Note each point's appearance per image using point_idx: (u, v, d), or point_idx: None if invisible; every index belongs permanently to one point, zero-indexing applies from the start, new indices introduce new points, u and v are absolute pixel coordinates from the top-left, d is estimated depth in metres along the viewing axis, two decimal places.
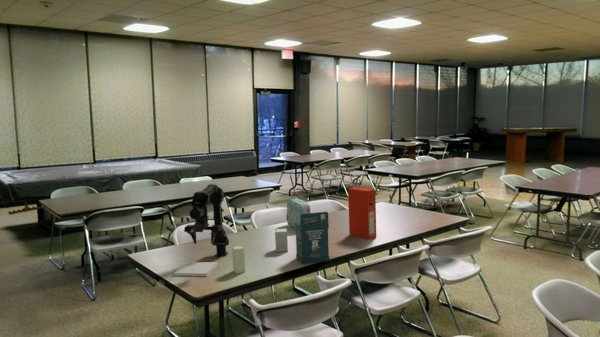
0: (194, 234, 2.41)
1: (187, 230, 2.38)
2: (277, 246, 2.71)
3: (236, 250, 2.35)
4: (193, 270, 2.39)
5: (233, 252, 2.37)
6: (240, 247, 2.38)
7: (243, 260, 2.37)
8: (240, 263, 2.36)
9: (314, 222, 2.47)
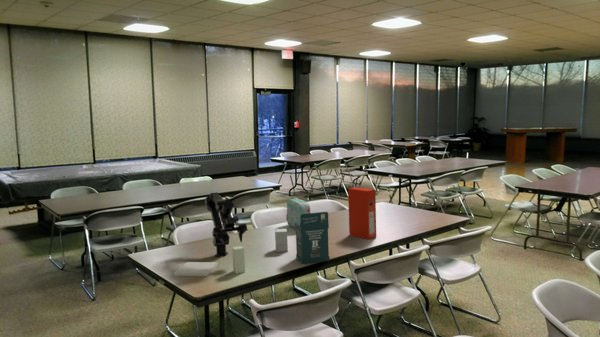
0: None
1: (217, 229, 2.44)
2: (277, 246, 2.71)
3: (236, 250, 2.35)
4: (193, 270, 2.39)
5: (233, 252, 2.37)
6: (240, 247, 2.38)
7: (243, 260, 2.37)
8: (240, 263, 2.36)
9: (314, 222, 2.47)
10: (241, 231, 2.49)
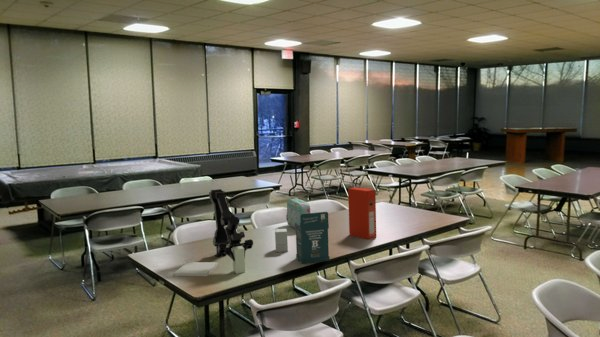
0: None
1: (223, 245, 2.36)
2: (277, 246, 2.71)
3: (236, 250, 2.35)
4: (193, 270, 2.39)
5: (233, 252, 2.37)
6: (240, 247, 2.38)
7: (243, 260, 2.37)
8: (240, 263, 2.36)
9: (314, 222, 2.47)
10: (244, 248, 2.40)
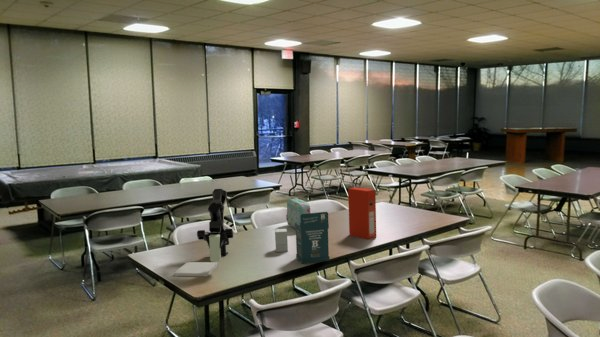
0: None
1: (200, 232, 2.38)
2: (277, 246, 2.71)
3: (210, 238, 2.34)
4: (193, 270, 2.39)
5: None
6: (217, 235, 2.36)
7: (218, 249, 2.35)
8: (215, 251, 2.35)
9: (314, 222, 2.47)
10: (222, 236, 2.38)
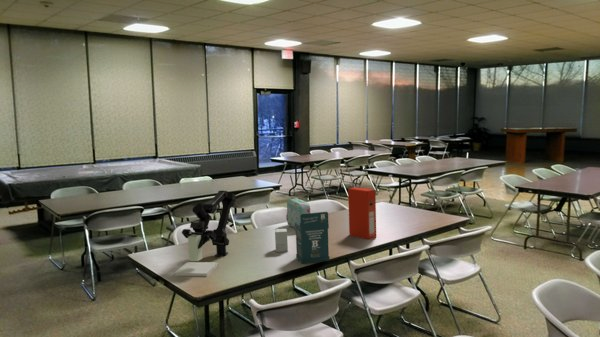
0: None
1: (184, 231, 2.45)
2: (277, 246, 2.71)
3: (189, 238, 2.39)
4: (193, 270, 2.39)
5: None
6: (196, 236, 2.40)
7: (195, 249, 2.39)
8: (193, 251, 2.40)
9: (314, 222, 2.47)
10: (202, 237, 2.41)
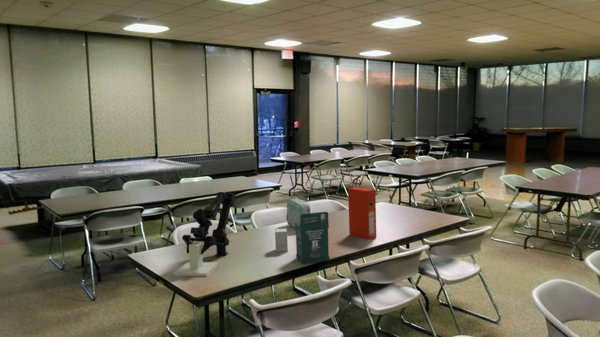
0: None
1: (185, 236, 2.46)
2: (277, 246, 2.71)
3: (190, 246, 2.40)
4: (193, 270, 2.39)
5: None
6: (197, 244, 2.41)
7: (196, 257, 2.39)
8: (193, 259, 2.40)
9: (314, 222, 2.47)
10: (205, 243, 2.41)
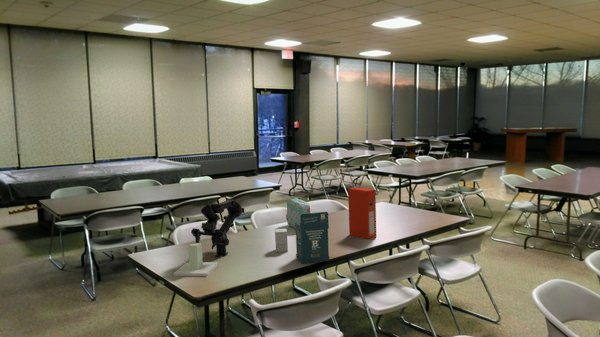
0: (198, 238, 2.54)
1: (194, 230, 2.53)
2: (277, 246, 2.71)
3: (190, 246, 2.40)
4: (193, 270, 2.39)
5: None
6: (196, 244, 2.41)
7: (196, 257, 2.39)
8: (193, 259, 2.40)
9: (314, 222, 2.47)
10: (215, 238, 2.51)
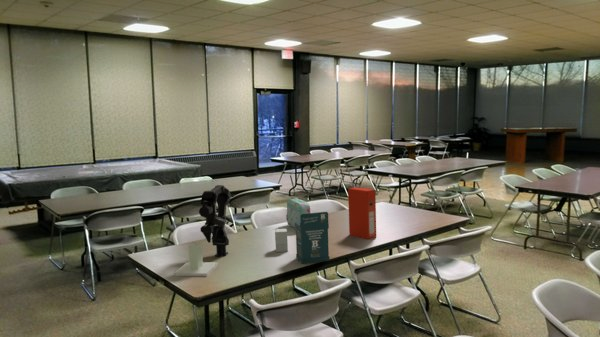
0: None
1: (212, 229, 2.45)
2: (277, 246, 2.71)
3: (190, 246, 2.40)
4: (193, 270, 2.39)
5: None
6: (196, 244, 2.41)
7: (196, 257, 2.39)
8: (193, 259, 2.40)
9: (314, 222, 2.47)
10: (217, 228, 2.59)
